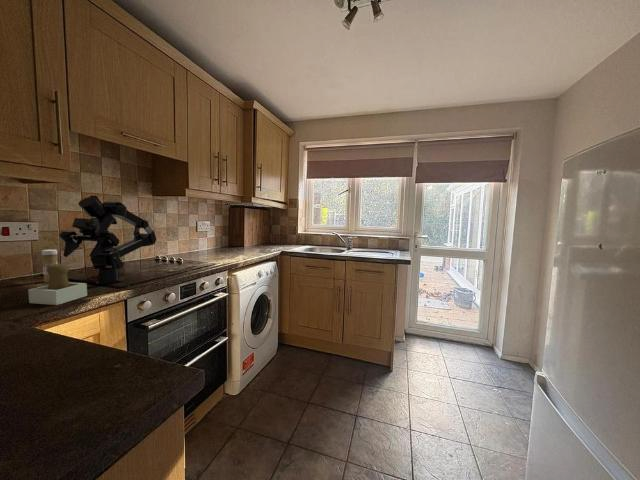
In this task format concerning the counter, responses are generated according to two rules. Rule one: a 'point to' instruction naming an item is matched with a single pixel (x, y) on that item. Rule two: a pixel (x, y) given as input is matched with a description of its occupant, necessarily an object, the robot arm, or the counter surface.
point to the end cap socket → (57, 294)
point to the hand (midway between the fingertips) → (77, 256)
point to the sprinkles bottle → (48, 261)
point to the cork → (58, 276)
